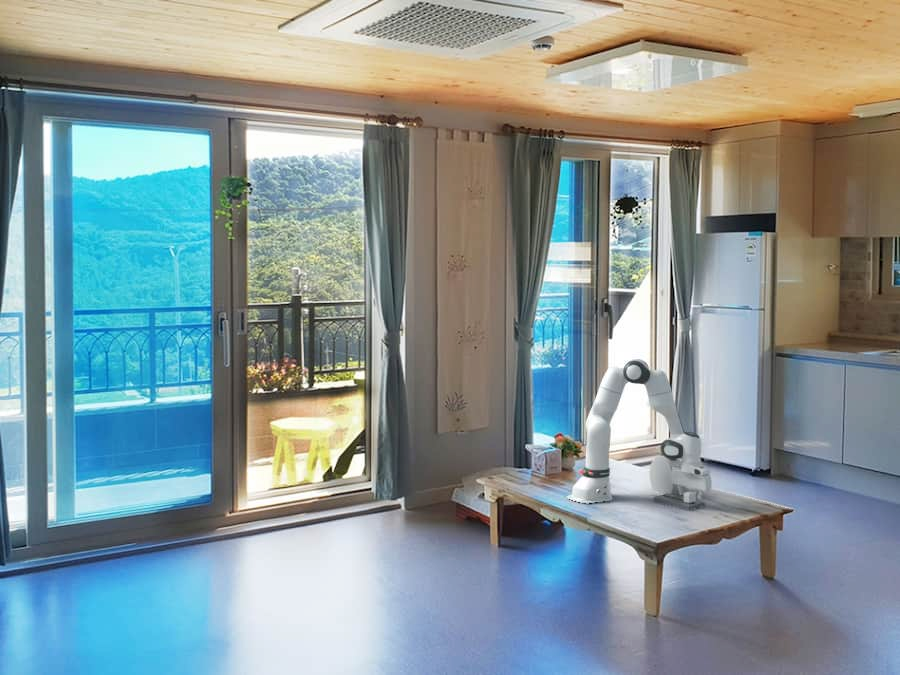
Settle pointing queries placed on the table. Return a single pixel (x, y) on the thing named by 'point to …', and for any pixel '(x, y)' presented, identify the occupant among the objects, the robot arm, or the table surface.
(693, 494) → the fader knob
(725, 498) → the table surface
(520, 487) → the table surface
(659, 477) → the alarm clock
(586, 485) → the robot arm
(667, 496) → the fader deck
